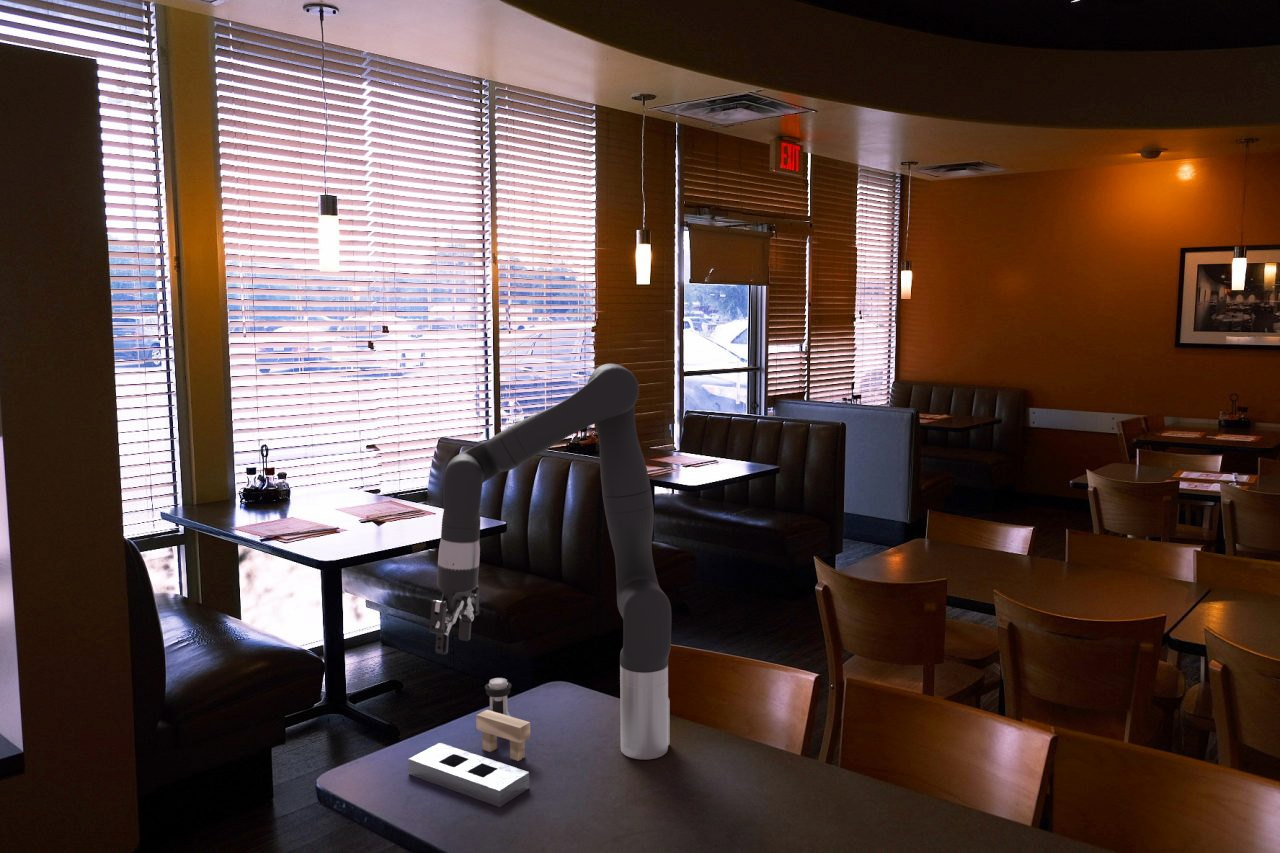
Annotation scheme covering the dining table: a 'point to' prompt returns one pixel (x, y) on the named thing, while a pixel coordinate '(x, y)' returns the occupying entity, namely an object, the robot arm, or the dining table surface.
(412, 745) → the dining table surface
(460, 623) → the robot arm
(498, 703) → the push button
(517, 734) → the wooden peg block
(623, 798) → the dining table surface
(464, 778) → the grey block with holes
